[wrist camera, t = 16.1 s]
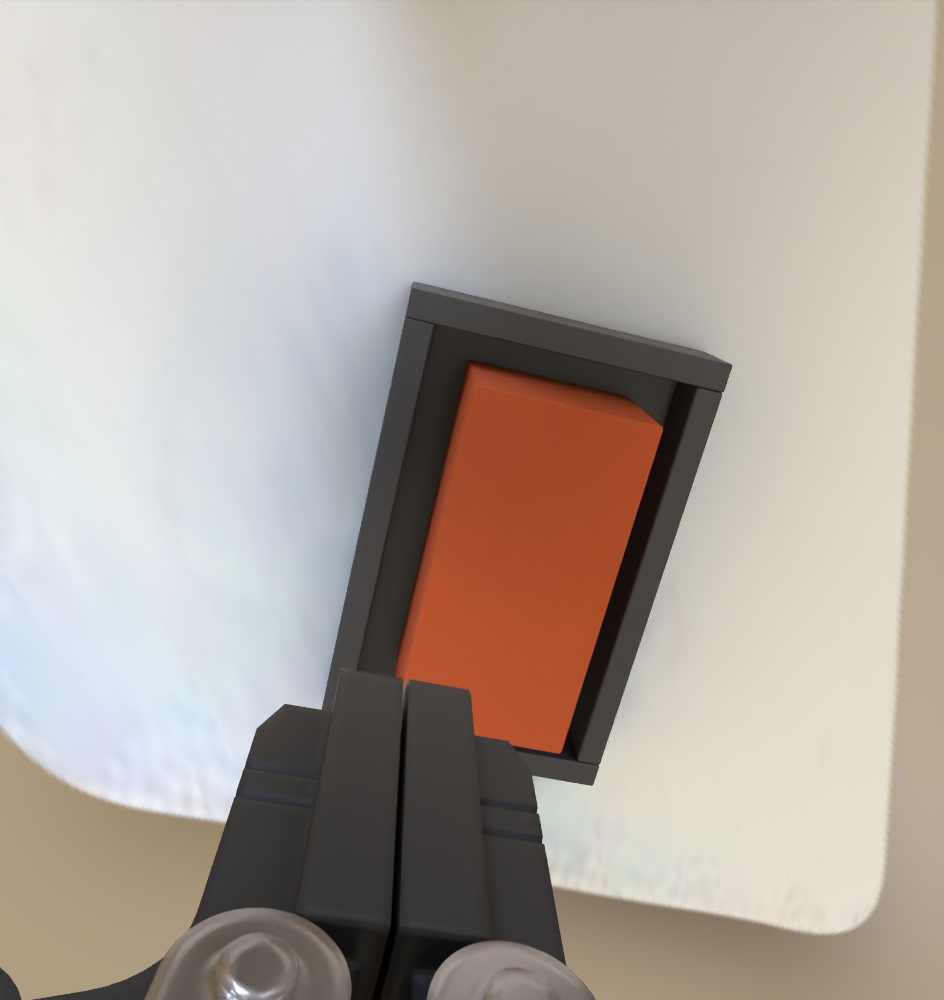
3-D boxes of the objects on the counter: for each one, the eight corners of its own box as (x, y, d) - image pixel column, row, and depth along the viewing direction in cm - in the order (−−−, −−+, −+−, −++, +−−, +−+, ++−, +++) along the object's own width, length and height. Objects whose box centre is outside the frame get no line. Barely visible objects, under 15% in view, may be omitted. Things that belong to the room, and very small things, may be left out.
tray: (412, 281, 25) (411, 287, 23) (706, 352, 26) (733, 365, 24) (323, 697, 29) (315, 738, 27) (580, 744, 30) (593, 786, 28)
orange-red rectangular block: (467, 358, 25) (475, 383, 21) (629, 396, 26) (665, 427, 22) (396, 656, 28) (392, 725, 24) (543, 684, 29) (561, 755, 25)
